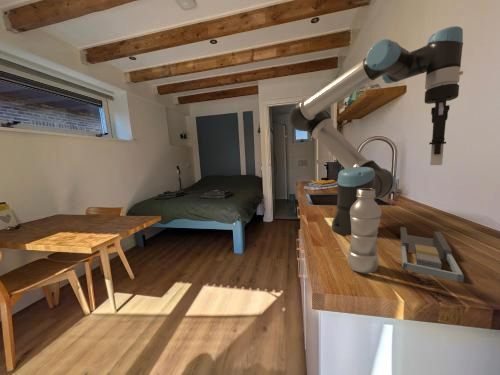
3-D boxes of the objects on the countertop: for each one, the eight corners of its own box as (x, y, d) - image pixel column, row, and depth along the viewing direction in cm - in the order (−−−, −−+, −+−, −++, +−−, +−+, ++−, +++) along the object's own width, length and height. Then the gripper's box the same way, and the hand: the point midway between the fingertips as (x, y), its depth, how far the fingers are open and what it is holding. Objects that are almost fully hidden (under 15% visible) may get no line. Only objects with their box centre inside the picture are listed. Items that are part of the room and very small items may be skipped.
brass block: (415, 261, 51) (416, 250, 51) (413, 254, 54) (414, 244, 54) (437, 265, 49) (438, 254, 48) (434, 258, 52) (435, 247, 52)
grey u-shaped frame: (402, 271, 47) (403, 262, 47) (401, 253, 56) (401, 245, 56) (462, 286, 42) (463, 275, 41) (450, 263, 50) (451, 254, 50)
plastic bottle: (341, 264, 52) (344, 188, 49) (366, 262, 52) (370, 186, 50) (357, 278, 45) (360, 192, 43) (385, 276, 46) (390, 190, 43)
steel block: (416, 268, 48) (417, 258, 47) (414, 261, 51) (415, 251, 51) (440, 273, 45) (441, 263, 45) (437, 265, 49) (438, 255, 48)
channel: (401, 253, 56) (401, 242, 56) (399, 236, 68) (400, 226, 68) (450, 263, 50) (451, 250, 50) (439, 242, 63) (440, 232, 62)
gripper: (462, 77, 53) (455, 165, 56) (456, 89, 63) (450, 164, 66) (425, 85, 58) (420, 166, 61) (425, 95, 68) (420, 164, 71)
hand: (436, 165), depth 64 cm, fingers closed
